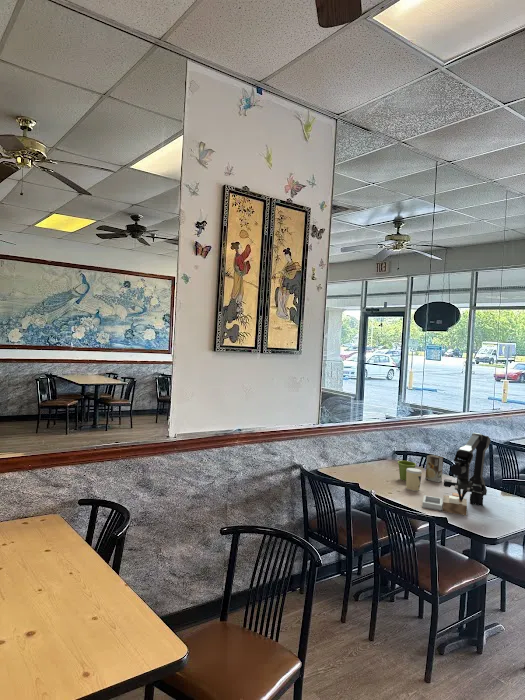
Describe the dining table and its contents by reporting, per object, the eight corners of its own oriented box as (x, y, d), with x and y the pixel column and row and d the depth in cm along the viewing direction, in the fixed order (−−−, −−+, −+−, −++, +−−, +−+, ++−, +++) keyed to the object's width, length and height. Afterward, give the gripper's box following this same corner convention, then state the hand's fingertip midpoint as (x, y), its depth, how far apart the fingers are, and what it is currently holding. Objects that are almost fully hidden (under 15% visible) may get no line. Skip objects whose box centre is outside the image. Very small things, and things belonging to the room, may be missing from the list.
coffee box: (442, 481, 325) (444, 457, 325) (437, 482, 321) (439, 458, 321) (429, 477, 332) (431, 454, 332) (424, 479, 328) (426, 455, 327)
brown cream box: (465, 507, 273) (466, 498, 273) (466, 515, 260) (467, 506, 260) (442, 503, 277) (443, 495, 277) (442, 511, 264) (443, 502, 264)
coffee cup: (421, 492, 297) (423, 472, 297) (405, 490, 299) (407, 470, 299) (419, 487, 306) (421, 468, 306) (404, 485, 308) (405, 466, 308)
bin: (442, 503, 278) (442, 498, 278) (441, 511, 265) (441, 505, 264) (423, 500, 281) (424, 495, 281) (422, 507, 268) (422, 502, 268)
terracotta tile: (461, 498, 273) (462, 494, 273) (461, 501, 268) (462, 496, 268) (452, 496, 275) (452, 492, 275) (452, 499, 270) (452, 494, 270)
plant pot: (392, 478, 323) (394, 461, 323) (402, 476, 331) (404, 459, 331) (408, 483, 314) (409, 466, 314) (418, 480, 322) (419, 463, 322)
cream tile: (458, 501, 267) (459, 497, 267) (458, 504, 262) (459, 499, 262) (448, 499, 269) (449, 495, 269) (448, 502, 264) (449, 498, 264)
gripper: (444, 473, 260) (442, 502, 260) (483, 479, 253) (480, 509, 253) (444, 468, 270) (442, 496, 270) (481, 474, 263) (479, 502, 264)
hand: (461, 501), depth 264 cm, fingers closed
